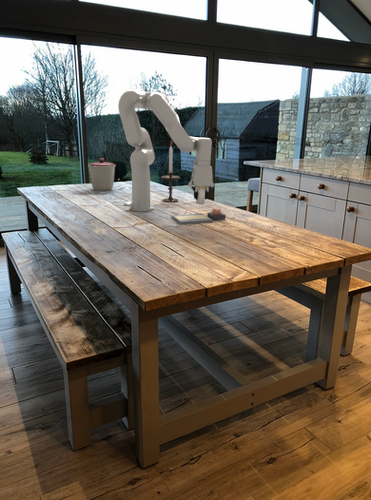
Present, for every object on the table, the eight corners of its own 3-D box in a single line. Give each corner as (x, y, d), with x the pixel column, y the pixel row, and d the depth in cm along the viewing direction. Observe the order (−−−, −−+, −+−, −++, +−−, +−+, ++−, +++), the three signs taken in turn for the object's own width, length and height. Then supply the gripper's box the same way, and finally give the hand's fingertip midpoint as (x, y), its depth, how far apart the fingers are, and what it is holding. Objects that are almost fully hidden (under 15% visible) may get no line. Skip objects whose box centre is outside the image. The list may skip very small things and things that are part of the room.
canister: (90, 187, 284) (89, 156, 278) (117, 187, 286) (116, 157, 280) (87, 192, 267) (85, 159, 261) (115, 192, 269) (114, 159, 263)
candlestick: (176, 199, 250) (177, 139, 239) (181, 202, 240) (183, 140, 229) (159, 199, 246) (159, 139, 236) (164, 203, 236) (164, 140, 226)
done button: (214, 216, 199) (214, 210, 198) (211, 214, 203) (211, 208, 202) (221, 216, 201) (222, 210, 200) (218, 214, 204) (218, 208, 203)
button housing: (212, 220, 198) (212, 215, 197) (207, 217, 204) (207, 212, 203) (225, 219, 200) (225, 214, 199) (219, 216, 206) (220, 211, 206)
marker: (197, 204, 208) (198, 182, 205) (194, 202, 212) (195, 181, 209) (206, 204, 210) (207, 182, 206) (202, 202, 214) (204, 181, 210)
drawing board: (180, 224, 189) (180, 221, 189) (171, 217, 202) (171, 215, 201) (212, 222, 194) (212, 219, 194) (201, 215, 207) (201, 213, 206)
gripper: (189, 163, 199) (187, 200, 204) (221, 164, 204) (218, 200, 210) (184, 162, 205) (182, 197, 211) (215, 162, 211) (212, 197, 216)
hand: (200, 198), depth 210 cm, fingers closed on marker, 4 cm apart
